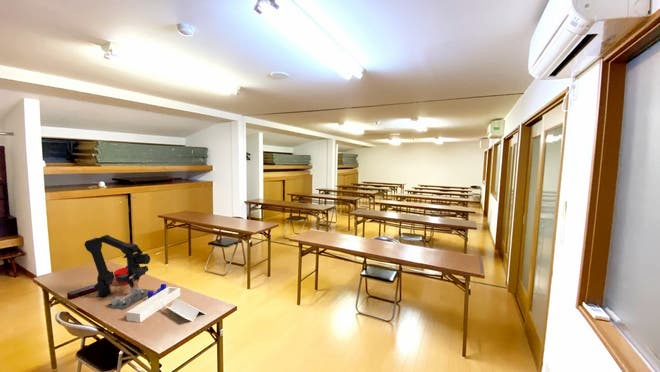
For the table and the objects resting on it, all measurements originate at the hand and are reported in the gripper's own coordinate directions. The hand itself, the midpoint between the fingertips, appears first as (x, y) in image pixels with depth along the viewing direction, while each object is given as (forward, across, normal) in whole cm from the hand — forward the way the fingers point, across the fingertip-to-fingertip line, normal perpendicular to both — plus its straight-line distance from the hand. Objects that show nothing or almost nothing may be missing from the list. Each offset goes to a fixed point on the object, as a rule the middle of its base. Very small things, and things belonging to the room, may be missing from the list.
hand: (134, 286), depth 181 cm
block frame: (+6, -9, -25) cm, 27 cm away
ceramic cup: (+7, +14, +24) cm, 29 cm away
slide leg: (+4, 0, -2) cm, 5 cm away
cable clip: (+7, +2, -15) cm, 17 cm away
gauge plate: (+6, -5, -3) cm, 9 cm away
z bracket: (+7, -11, -47) cm, 49 cm away
